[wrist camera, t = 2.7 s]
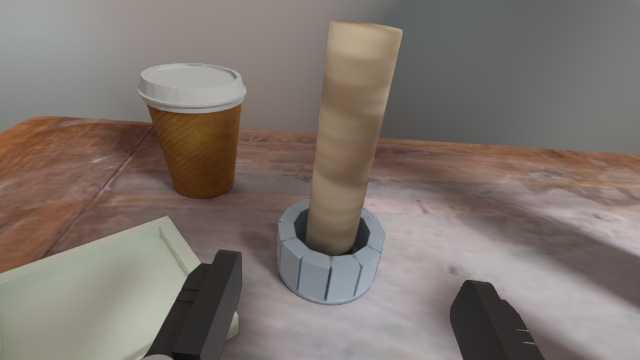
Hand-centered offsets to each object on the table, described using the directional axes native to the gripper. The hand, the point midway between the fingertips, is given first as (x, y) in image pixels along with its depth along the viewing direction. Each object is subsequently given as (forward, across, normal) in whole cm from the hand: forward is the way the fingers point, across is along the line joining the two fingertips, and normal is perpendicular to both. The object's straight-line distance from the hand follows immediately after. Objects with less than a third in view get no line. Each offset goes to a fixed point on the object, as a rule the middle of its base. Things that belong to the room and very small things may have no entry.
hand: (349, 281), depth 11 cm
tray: (+4, +14, +11) cm, 19 cm away
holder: (+12, 0, +11) cm, 16 cm away
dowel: (+12, 0, +11) cm, 16 cm away
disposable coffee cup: (+21, +14, +11) cm, 28 cm away
